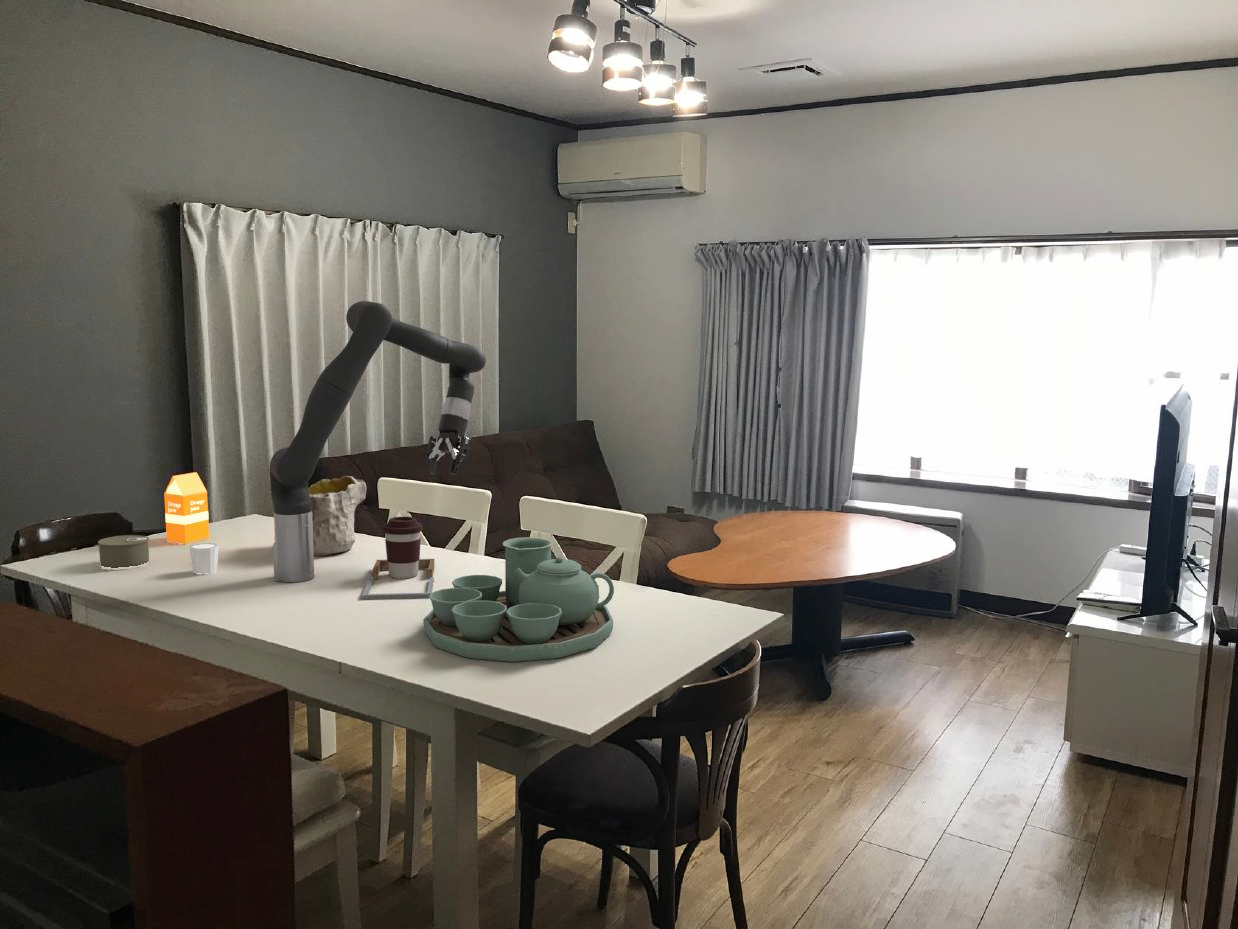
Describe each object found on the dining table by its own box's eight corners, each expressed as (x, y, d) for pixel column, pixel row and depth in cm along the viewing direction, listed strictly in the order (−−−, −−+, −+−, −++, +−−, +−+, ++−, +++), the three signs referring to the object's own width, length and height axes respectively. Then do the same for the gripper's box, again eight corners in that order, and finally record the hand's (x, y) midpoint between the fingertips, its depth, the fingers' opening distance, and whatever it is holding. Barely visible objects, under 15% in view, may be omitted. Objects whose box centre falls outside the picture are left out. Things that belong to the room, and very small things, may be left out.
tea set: (400, 620, 212) (399, 547, 210) (563, 597, 231) (563, 530, 229) (463, 678, 178) (463, 592, 175) (647, 645, 197) (649, 567, 195)
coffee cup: (401, 583, 241) (400, 524, 239) (375, 576, 247) (374, 519, 244) (431, 575, 249) (430, 518, 246) (405, 568, 254) (404, 513, 252)
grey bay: (362, 599, 226) (361, 595, 226) (369, 582, 241) (369, 578, 240) (431, 597, 228) (430, 593, 228) (434, 581, 243) (433, 577, 243)
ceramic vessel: (245, 530, 259) (276, 452, 271) (290, 568, 279) (317, 494, 292) (318, 535, 253) (347, 455, 265) (358, 574, 273) (384, 497, 285)
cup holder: (372, 580, 243) (372, 570, 242) (377, 569, 254) (376, 559, 253) (432, 579, 245) (432, 569, 244) (434, 567, 256) (434, 558, 256)
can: (100, 562, 257) (98, 537, 256) (149, 557, 263) (148, 533, 262) (99, 572, 247) (97, 546, 246) (150, 567, 252) (149, 542, 251)
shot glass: (206, 576, 244) (205, 550, 243) (184, 574, 246) (183, 547, 245) (225, 570, 250) (224, 544, 249) (204, 568, 252) (202, 542, 251)
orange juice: (209, 539, 286) (206, 472, 283) (185, 545, 278) (182, 477, 275) (190, 536, 289) (187, 470, 286) (166, 542, 281) (162, 474, 278)
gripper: (427, 413, 263) (414, 469, 260) (463, 411, 255) (450, 470, 251) (447, 421, 269) (434, 477, 265) (482, 420, 260) (470, 478, 257)
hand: (441, 473), depth 258 cm, fingers open, 8 cm apart
